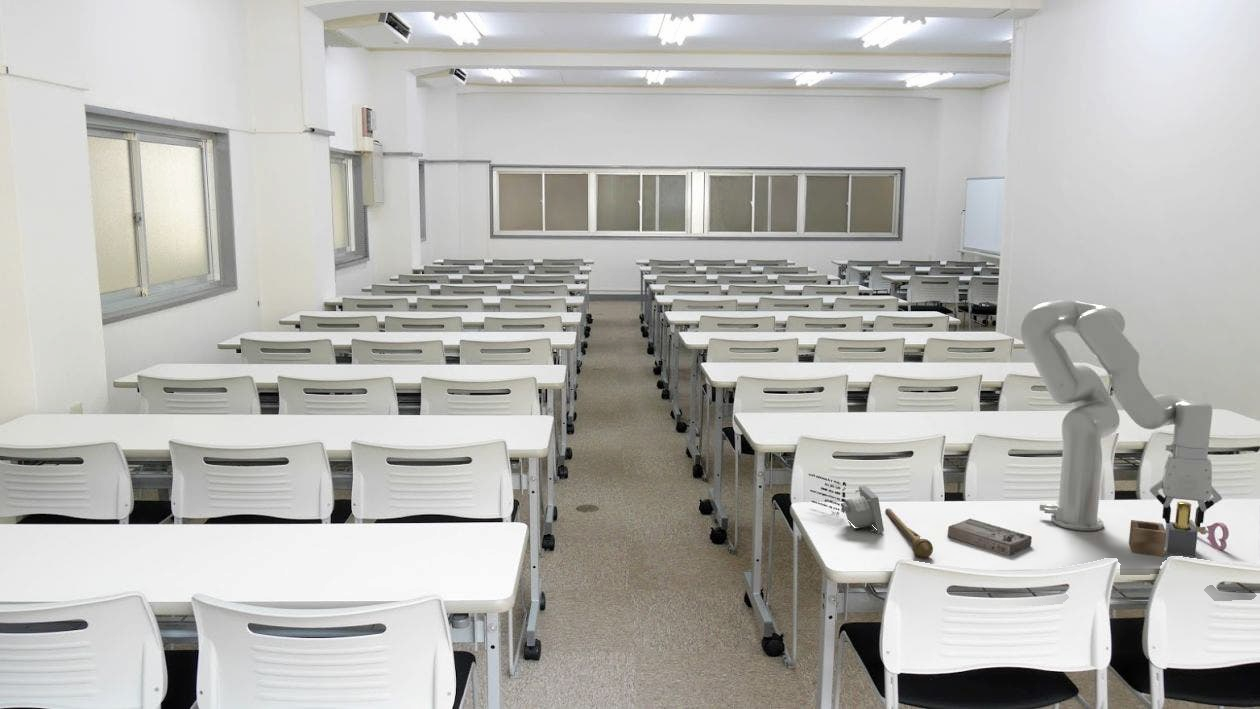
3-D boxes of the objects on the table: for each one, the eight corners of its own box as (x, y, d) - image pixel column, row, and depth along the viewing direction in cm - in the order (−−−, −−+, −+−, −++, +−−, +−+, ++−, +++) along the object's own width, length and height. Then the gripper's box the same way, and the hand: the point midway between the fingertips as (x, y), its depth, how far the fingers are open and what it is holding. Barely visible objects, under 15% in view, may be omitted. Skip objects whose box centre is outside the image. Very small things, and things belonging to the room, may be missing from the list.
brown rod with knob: (878, 518, 266) (895, 520, 266) (915, 561, 231) (935, 563, 231) (880, 501, 266) (898, 503, 266) (918, 542, 231) (938, 544, 231)
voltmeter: (896, 529, 253) (898, 492, 252) (870, 539, 246) (872, 501, 244) (814, 504, 273) (815, 469, 271) (788, 512, 266) (789, 477, 264)
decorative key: (1176, 536, 257) (1228, 551, 238) (1172, 536, 257) (1224, 551, 238) (1176, 511, 257) (1228, 524, 238) (1171, 511, 257) (1224, 524, 238)
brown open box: (1131, 552, 238) (1133, 528, 237) (1128, 542, 244) (1131, 519, 243) (1163, 556, 235) (1166, 532, 234) (1160, 546, 242) (1162, 523, 241)
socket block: (1166, 552, 238) (1169, 529, 237) (1163, 544, 243) (1166, 521, 242) (1195, 556, 236) (1197, 532, 235) (1191, 547, 241) (1193, 524, 240)
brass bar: (1173, 551, 239) (1178, 504, 237) (1171, 547, 241) (1176, 500, 239) (1187, 553, 237) (1192, 506, 235) (1185, 549, 240) (1190, 502, 238)
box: (968, 529, 255) (969, 517, 254) (1031, 547, 242) (1032, 535, 241) (945, 537, 248) (946, 526, 248) (1009, 557, 235) (1010, 545, 235)
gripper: (1151, 452, 235) (1144, 523, 238) (1234, 459, 229) (1225, 533, 232) (1147, 444, 242) (1140, 514, 245) (1228, 451, 235) (1220, 523, 238)
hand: (1182, 522), depth 238 cm, fingers open, 5 cm apart
